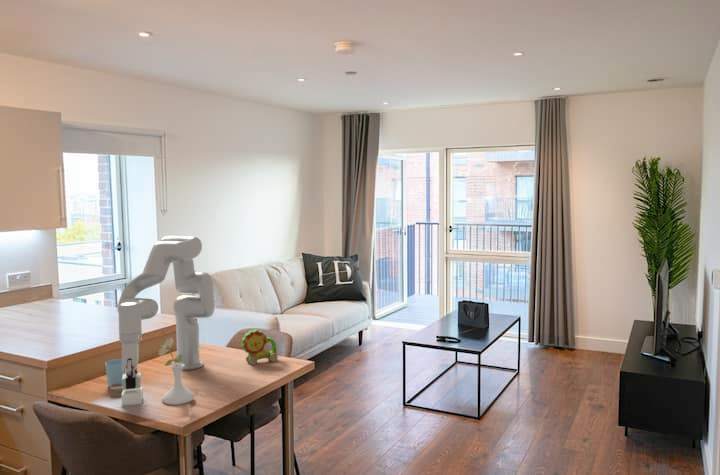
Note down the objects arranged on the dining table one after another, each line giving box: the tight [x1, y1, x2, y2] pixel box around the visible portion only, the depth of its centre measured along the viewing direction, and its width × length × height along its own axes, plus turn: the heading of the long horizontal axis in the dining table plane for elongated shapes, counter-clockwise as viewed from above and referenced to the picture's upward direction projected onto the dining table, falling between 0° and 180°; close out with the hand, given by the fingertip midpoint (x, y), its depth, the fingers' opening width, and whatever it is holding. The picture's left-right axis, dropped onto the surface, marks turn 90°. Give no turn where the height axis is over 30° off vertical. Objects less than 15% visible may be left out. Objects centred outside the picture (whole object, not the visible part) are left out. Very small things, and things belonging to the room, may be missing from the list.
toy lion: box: [241, 329, 278, 366], centre depth 256 cm, size 16×5×15 cm, turn 120°
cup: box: [104, 358, 126, 388], centre depth 222 cm, size 8×8×10 cm
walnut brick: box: [109, 384, 123, 397], centre depth 213 cm, size 5×5×4 cm
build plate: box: [115, 394, 149, 409], centre depth 206 cm, size 10×10×1 cm
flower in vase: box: [157, 336, 195, 406], centre depth 206 cm, size 13×11×25 cm
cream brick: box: [120, 386, 144, 405], centre depth 205 cm, size 6×6×4 cm
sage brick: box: [122, 372, 142, 390], centre depth 205 cm, size 6×6×4 cm
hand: (131, 384), depth 205 cm, fingers closed on sage brick, 6 cm apart
